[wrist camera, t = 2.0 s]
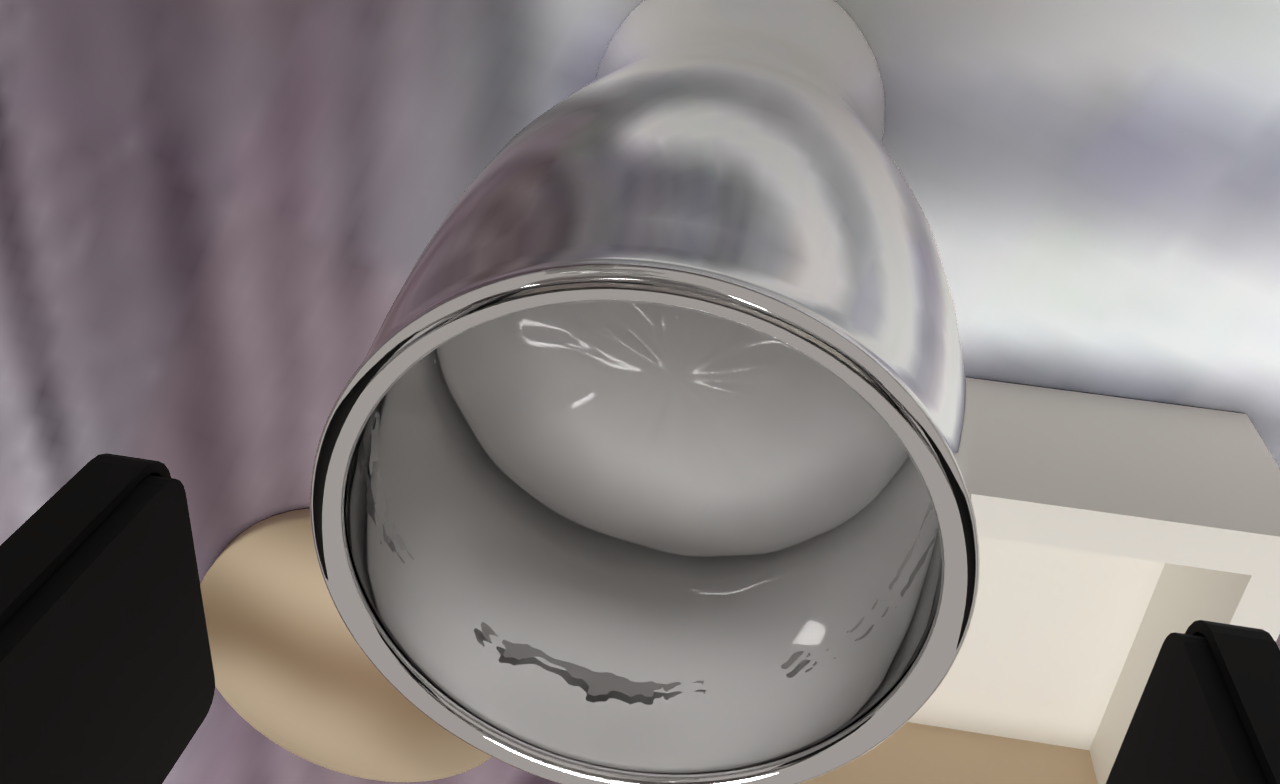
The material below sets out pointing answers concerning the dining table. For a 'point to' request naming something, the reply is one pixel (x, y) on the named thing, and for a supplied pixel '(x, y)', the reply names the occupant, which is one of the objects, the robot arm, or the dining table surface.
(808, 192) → the beer glass
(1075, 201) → the dining table surface
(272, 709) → the cork trivet
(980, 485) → the cream divided tray
